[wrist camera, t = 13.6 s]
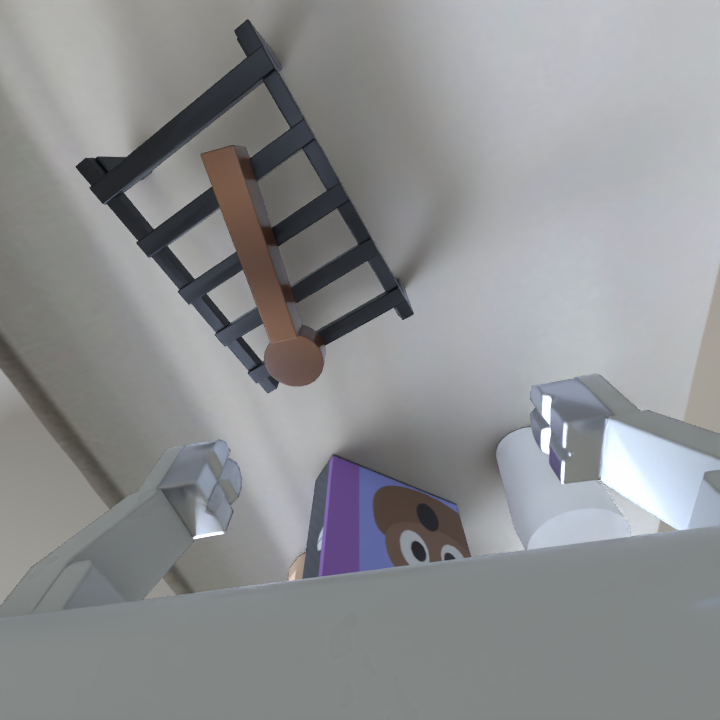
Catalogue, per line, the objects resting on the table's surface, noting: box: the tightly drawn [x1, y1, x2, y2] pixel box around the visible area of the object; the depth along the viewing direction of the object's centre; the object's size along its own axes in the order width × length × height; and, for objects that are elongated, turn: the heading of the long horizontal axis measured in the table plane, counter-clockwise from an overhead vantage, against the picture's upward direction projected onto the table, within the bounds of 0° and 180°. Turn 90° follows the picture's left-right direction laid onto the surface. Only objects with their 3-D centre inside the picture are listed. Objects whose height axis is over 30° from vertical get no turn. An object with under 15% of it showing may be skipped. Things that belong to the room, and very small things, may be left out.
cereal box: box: [302, 454, 471, 579], centre depth 36 cm, size 17×5×24 cm, turn 62°
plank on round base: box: [201, 145, 326, 387], centre depth 25 cm, size 16×4×3 cm, turn 13°
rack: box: [76, 20, 414, 393], centre depth 29 cm, size 20×14×7 cm
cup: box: [496, 427, 631, 550], centre depth 38 cm, size 9×9×12 cm
